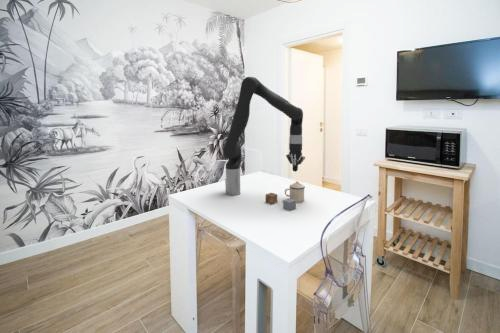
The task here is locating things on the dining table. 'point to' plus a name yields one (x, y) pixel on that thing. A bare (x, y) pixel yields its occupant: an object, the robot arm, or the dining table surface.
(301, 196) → the teacup with lid
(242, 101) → the robot arm
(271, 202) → the walnut block
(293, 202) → the slate-grey block
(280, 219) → the dining table surface
